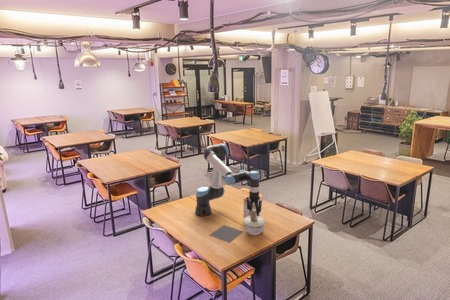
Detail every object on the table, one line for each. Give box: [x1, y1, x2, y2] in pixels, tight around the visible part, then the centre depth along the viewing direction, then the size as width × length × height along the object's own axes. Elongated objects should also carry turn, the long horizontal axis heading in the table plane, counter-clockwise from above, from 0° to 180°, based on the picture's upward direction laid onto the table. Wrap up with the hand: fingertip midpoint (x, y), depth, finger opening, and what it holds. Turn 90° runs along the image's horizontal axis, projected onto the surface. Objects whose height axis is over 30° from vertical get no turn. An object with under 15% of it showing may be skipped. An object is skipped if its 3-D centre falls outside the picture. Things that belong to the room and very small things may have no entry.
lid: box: [242, 209, 266, 227], centre depth 243 cm, size 17×17×10 cm
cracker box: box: [243, 195, 261, 219], centre depth 266 cm, size 14×6×21 cm, turn 122°
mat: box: [209, 224, 245, 243], centre depth 246 cm, size 20×20×1 cm
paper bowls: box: [244, 224, 265, 236], centre depth 246 cm, size 15×15×8 cm
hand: (254, 218), depth 244 cm, fingers closed on lid, 4 cm apart
